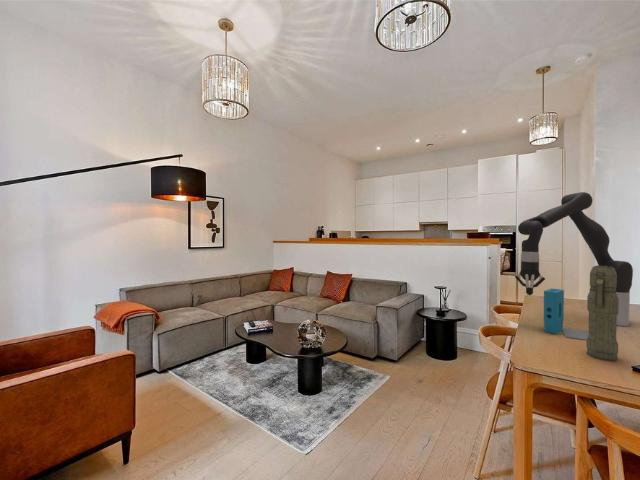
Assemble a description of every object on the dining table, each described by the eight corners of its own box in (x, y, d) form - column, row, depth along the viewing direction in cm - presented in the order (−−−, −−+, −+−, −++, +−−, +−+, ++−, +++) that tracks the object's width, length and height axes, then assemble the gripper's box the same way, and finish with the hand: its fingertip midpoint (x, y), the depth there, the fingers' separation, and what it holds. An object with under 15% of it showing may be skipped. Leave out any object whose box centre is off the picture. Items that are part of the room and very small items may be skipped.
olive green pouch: (585, 357, 114) (586, 266, 113) (587, 348, 122) (588, 264, 121) (617, 364, 107) (619, 268, 107) (618, 355, 116) (619, 265, 115)
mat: (561, 328, 149) (561, 327, 149) (602, 333, 140) (602, 332, 140) (565, 337, 135) (566, 336, 135) (612, 344, 127) (612, 343, 127)
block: (555, 335, 138) (556, 292, 138) (542, 332, 142) (543, 291, 142) (563, 330, 145) (564, 289, 145) (551, 327, 149) (552, 288, 149)
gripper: (545, 260, 148) (545, 295, 148) (514, 259, 155) (513, 292, 156) (547, 261, 142) (546, 297, 142) (514, 260, 149) (513, 294, 149)
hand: (529, 294), depth 149 cm, fingers closed
